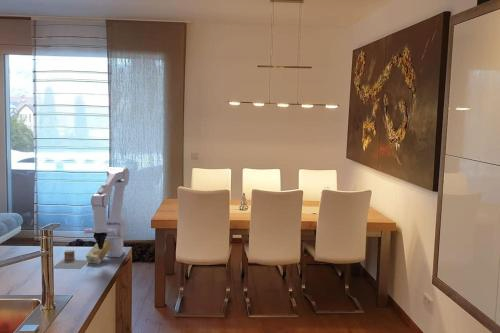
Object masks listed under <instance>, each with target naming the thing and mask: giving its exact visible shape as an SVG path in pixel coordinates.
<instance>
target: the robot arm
mask: <svg viewBox="0 0 500 333" xmlns="http://www.w3.org/2000/svg"><path fill="white" fill-rule="evenodd" d="M106 176H107V177H106V180H105V182H104V183H102V184H101V185H100V187H99V188H98V190H97V192H96V193H94V194H93V195H91V198H90V205H91V210H92V211H93V228H91V227H90V228H84V231H83V232H84V234H93V238H94V240H95V241H96V243H97V244H98V247H99V249H103V245H104V241H105V240H108V241H110V242H111V245H112V248H111V249H110V251H109V252H108V253H107V254H106V256H105V257H104V258H106V257H107V258H120V257H122V255H124V254H125V253H126V250H124V239H123V237H124V236H125V234H126V223H125V221H124V220H123V219H122V218H121V216H122V210H123V202H124V201H123V200H124V194H125V187H126V186H128V185H129V180H130V170H129V168H128V167H116V166H115V167H114V166H113V167H111V166H109V167H108V168H107V170H106ZM113 186H114V190H113ZM112 192H113V196H112V204H111V210H110V217H109V218H107V206H108V204H109V200H110V196H111V195H112V194H111V193H112Z"/></svg>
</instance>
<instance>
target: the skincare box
mask: <svg viewBox="0 0 500 333" xmlns="http://www.w3.org/2000/svg"><path fill="white" fill-rule="evenodd" d="M111 248H112V245H111V242H110V241H108V240H107V239H105V241H104V245H103V249H99V247H98V244H97V242H96V243H95V244H94V246H93V247H92V248H91V249H90V250H89V251H88V253H87V254H86V255H85V259H86V260H87V261H88V262H87V263H89V264H96V265H100V264H101V262H102V261H103V259H104V258H106V257H105V256H106V254H107V253H108V252H109V251H110V249H111Z"/></svg>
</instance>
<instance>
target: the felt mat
mask: <svg viewBox="0 0 500 333" xmlns="http://www.w3.org/2000/svg"><path fill="white" fill-rule="evenodd" d="M87 263H88V261H87V259H74V260H65V261H64V259H62V260H60V261H59V262H57V264H55V265H54V266H53V267H54V268H53V269H67V270H68V269H69V270H70V269H74V270H75V269H77V270H80V269H82V268H83V267H84V266H85V265H86V264H87Z"/></svg>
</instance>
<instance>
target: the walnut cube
mask: <svg viewBox="0 0 500 333" xmlns="http://www.w3.org/2000/svg"><path fill="white" fill-rule="evenodd" d="M63 255H64V258H63V260H64V261H65V260H75V250H74V249H70V250H65V251H64V254H63Z"/></svg>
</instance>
